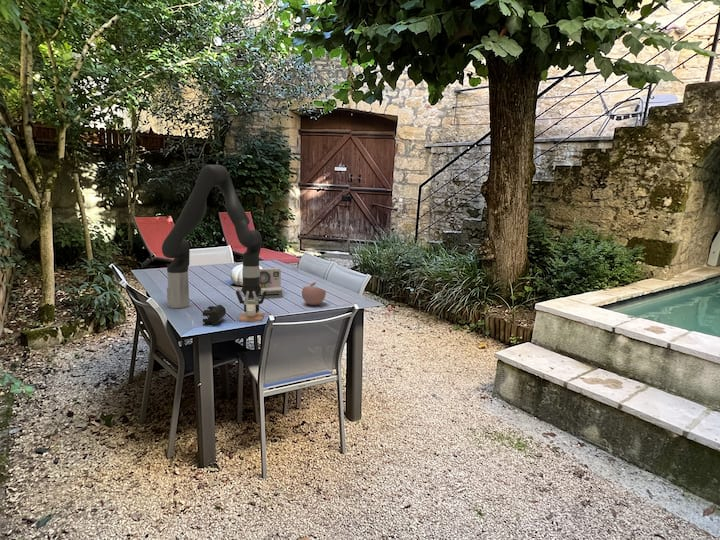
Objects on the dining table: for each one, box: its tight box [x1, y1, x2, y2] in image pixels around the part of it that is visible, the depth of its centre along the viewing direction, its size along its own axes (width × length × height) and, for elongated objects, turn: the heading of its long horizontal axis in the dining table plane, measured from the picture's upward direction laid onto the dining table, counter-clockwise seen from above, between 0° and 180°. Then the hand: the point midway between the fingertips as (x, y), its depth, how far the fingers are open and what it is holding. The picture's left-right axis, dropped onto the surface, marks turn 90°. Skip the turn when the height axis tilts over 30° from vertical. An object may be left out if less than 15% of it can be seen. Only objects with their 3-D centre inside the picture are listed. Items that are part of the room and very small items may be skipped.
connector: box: [245, 300, 256, 316], centre depth 195 cm, size 11×4×5 cm, turn 6°
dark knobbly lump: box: [202, 304, 227, 326], centre depth 188 cm, size 10×7×7 cm
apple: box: [301, 281, 327, 306], centre depth 220 cm, size 12×12×12 cm
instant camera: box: [242, 267, 283, 301], centre depth 236 cm, size 21×21×15 cm
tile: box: [238, 312, 265, 322], centre depth 197 cm, size 10×10×1 cm
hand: (251, 312), depth 196 cm, fingers closed on connector, 4 cm apart
